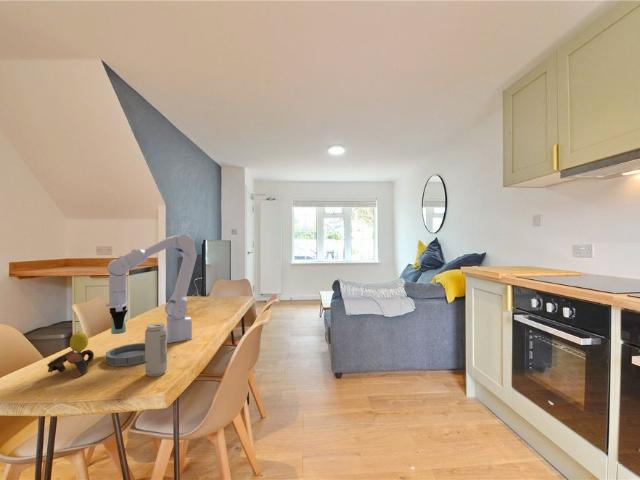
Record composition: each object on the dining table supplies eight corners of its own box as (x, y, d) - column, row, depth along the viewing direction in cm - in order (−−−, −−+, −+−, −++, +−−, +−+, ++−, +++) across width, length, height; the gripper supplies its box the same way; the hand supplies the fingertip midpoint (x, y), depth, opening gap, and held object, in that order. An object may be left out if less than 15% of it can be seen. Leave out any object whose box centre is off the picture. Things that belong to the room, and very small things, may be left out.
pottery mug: (65, 384, 96) (50, 361, 96) (53, 392, 101) (38, 369, 100) (105, 360, 107) (91, 339, 107) (92, 368, 111) (78, 347, 111)
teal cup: (125, 330, 127) (125, 314, 127) (126, 332, 123) (125, 316, 123) (111, 331, 124) (111, 316, 124) (111, 334, 120) (111, 318, 120)
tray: (154, 347, 127) (154, 340, 127) (160, 359, 114) (160, 351, 114) (105, 355, 118) (105, 348, 118) (106, 370, 105) (105, 361, 105)
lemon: (78, 355, 119) (78, 333, 119) (66, 354, 120) (65, 332, 120) (92, 350, 124) (91, 329, 124) (79, 349, 126) (79, 328, 126)
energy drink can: (150, 369, 105) (150, 323, 105) (170, 369, 106) (169, 322, 106) (141, 377, 99) (141, 328, 99) (162, 377, 100) (161, 327, 100)
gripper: (105, 289, 127) (105, 324, 127) (105, 295, 115) (106, 333, 115) (126, 288, 131) (126, 322, 131) (128, 293, 119) (129, 330, 119)
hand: (118, 327), depth 123 cm, fingers closed on teal cup, 5 cm apart
